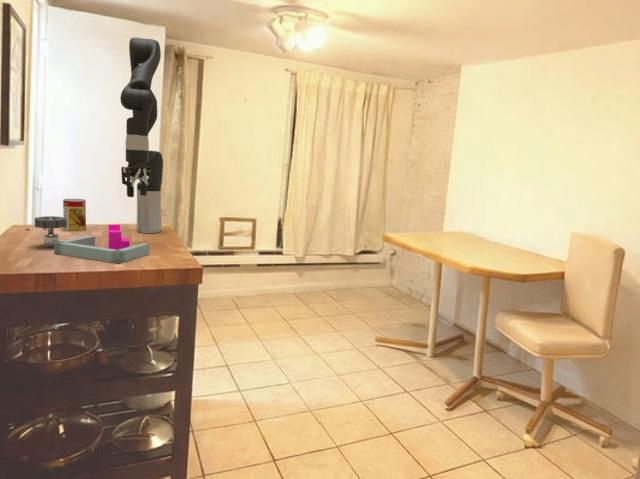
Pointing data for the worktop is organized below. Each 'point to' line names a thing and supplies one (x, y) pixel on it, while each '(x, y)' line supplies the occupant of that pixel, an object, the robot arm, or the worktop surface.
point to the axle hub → (50, 238)
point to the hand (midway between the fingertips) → (137, 196)
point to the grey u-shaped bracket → (99, 250)
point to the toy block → (116, 238)
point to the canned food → (74, 214)
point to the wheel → (50, 222)
